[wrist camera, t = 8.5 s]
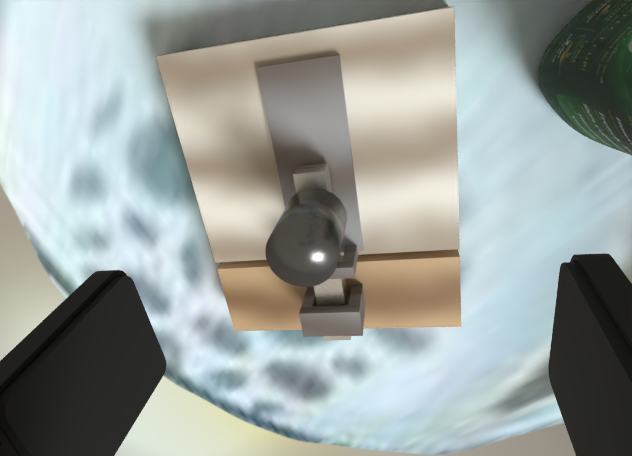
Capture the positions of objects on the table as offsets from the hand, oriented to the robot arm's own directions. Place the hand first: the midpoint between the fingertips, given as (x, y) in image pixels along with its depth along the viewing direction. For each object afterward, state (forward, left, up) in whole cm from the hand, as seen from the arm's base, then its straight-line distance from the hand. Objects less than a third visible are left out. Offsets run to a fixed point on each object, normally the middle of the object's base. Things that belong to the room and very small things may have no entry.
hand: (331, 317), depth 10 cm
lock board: (+5, -4, -23) cm, 24 cm away
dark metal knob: (+9, -4, -19) cm, 22 cm away
